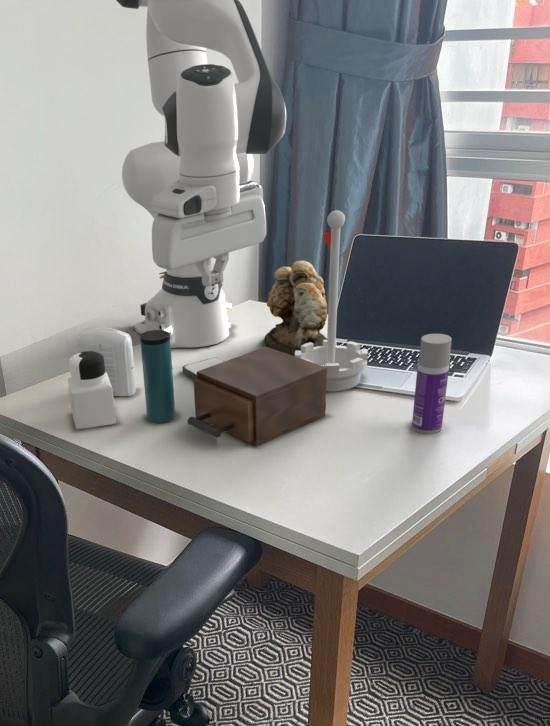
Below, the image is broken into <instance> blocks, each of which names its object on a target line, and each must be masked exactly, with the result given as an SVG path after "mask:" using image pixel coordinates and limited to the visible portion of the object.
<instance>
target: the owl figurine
mask: <svg viewBox="0 0 550 726" xmlns="http://www.w3.org/2000/svg"><path fill="white" fill-rule="evenodd" d="M273 276H274V280H275V283H274V284H273V285H272V287H271V290H270V291H269V292H268V301H267V302H266V306H267V307H269V312H270V314H271V315H273V317H275V318H277V317H278V318H279V319H281V320H282V322H280V323H277V324H275V327H273V328H271V329H270V330H269V331H268V332H266V334H265V336H264V338H263V339H264V347H265V346H266V347H269V348H272V349H275V350H277V351H280V352H283V353H286V354H289V355H292V356H295V351H301V345H304V344H306V343H309V342H311V343H313V344H314V347H317V346H323V340H327V336H326V335H324V334H323V333H321V331H322V330H323V329H324V327H325V325H326V321H327V320H328V303H327V300H326V295H325V294H326V290H325V287H324V286H325V285H324V284H325V281H324V279H323V277H322V276H320V275H319V274H318V273H317V272H316V269H315V267H314V265H313V264H312V263H311V262H310V261H306V260H296V261H294V262H293V263H292V265H291V266H282V267H279V268H278V269H276V270H275V272H274V275H273Z"/></svg>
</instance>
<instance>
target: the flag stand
mask: <svg viewBox="0 0 550 726" xmlns="http://www.w3.org/2000/svg"><path fill="white" fill-rule="evenodd" d="M326 221H327V222H326V223H327V225H328V226H329V227H330V230H328V231H327V232H325V233H324V234H322V237H323V239H324V242H325V243H326V245H327V247H328V249H329V251H330V254H329V278H328V303H327V329H326V330H327V331H326V332H327V333H326V338H327V340H323V346H317V347H314V344H313V343H311V342H309V343H306V344H304V345H301V351H295V357H298V358H301V359H303V360H306V361H309V362H312V363H315V364H318V365H322V366H323V365H324V367H327V385H326V392H340V391H342V392H343V391H346V390H350V389H353V388H355V387H357V386H358V385H359V384H360V382H361V373H362V372H363V371H364V370H365V369H366V368H367V367H368V353H369V351H368V349H367V348H362V349H361V343H358V342H355V341H351V340H349V341H348V342H346V345H337V341H338V340H337V317H338V316H337V314H338V295H339V294H338V291H339V273H340V271H339V270H340V269H339V268H340V249H341V248H340V247H341V228H342V227H343V226H344V224H345V222H346V216H345V214H344V212H343V211H341V210H338V209H336V210H333V211H331V212H329V214H328V215H327V219H326Z"/></svg>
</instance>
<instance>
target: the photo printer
mask: <svg viewBox="0 0 550 726" xmlns="http://www.w3.org/2000/svg"><path fill="white" fill-rule="evenodd" d="M78 349H79V353H80V352H85V351H93V352H98V353H100V354H102V355H103V356H104V363H105V371H106V373H107V375H108V378H109V380H110V383H111V386H112V390H113V396H116V397H117V396H118V397H132V396H133V395H135V393H136V392H137V391H136V376H135V375H136V373H135V364H134V363H135V361H134V352H133V351H134V350H133V340H132V337H131V335H130V334H129V333H127V332H125V331H123V330H119V329H114V328H109V327H95V328H89V329H86V330H83V331H82V332H80V333H79V336H78Z"/></svg>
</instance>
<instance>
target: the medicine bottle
mask: <svg viewBox="0 0 550 726" xmlns="http://www.w3.org/2000/svg"><path fill="white" fill-rule="evenodd" d="M68 364H69V372H70V377H68V378H67V386H68V387H67V388H68V393H69V400H70V401H69V402H70V406H71V407H70V408H71V413H72V414H71V415H72V417H73V422H74V426H75V429H76V430H83V429H91V428H99V427H105V426H111V425H116V423H117V418H116V409H115V408H116V407H115V402H114V401H115V400H114V399H115V398H114V395H113V390H112V386H111V383H110V380H109V378H108V375H107V373H106V371H105V363H104V356H103V355H102V354H100V353H98V352H93V351H85V352H80V351H79V352H77V353H75V354H73V355H72V356H71V357H70V358H69V360H68Z"/></svg>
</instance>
